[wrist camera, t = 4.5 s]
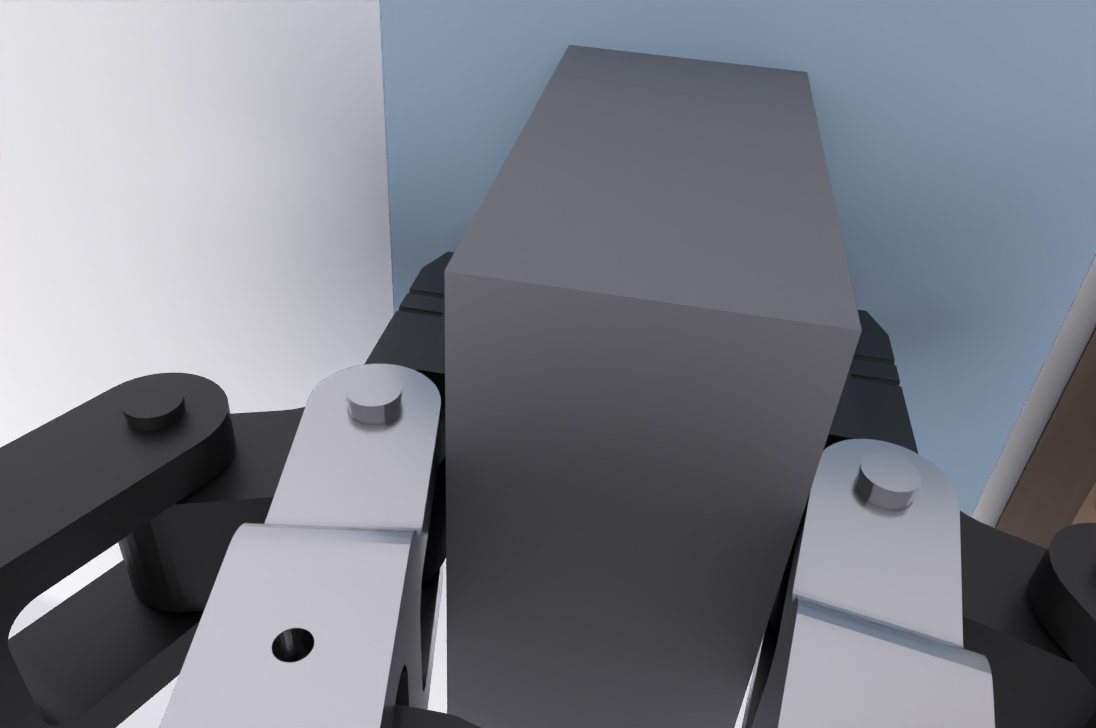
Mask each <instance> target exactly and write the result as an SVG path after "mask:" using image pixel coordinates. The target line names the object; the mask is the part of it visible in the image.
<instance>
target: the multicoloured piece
mask: <svg viewBox="0 0 1096 728" xmlns="http://www.w3.org/2000/svg"><path fill="white" fill-rule="evenodd" d="M380 20H381V42H382V64H383V85H384V107H385V129H386V151H387V172H388V194H389V216H390V237H391V259H392V281H393V302H394V314H395V312H396V311H399V306H400V304H401V302H402V301H403V299H404V297H405V296H406V294H407V293H409V289H410V287H411V286H412V284H413V282H414V281H415V279H416V277H417V276H418V274H419V272H420V270H421V269H422V267H424V266H426V265H427V264H429V263H430V262H432V261H434V260H435V259H437V258H438V257H440V256H442V255H443V254H445V253H446V252H448V251H449V252H455V253H454V254H453V256H452V258H451V260H450V262H449V263H448V265H447V267H446V269H445V271H444V279H445V428H446V576H447V714H451V715H456V716H458V717H460V718H462V719H464V720H466V721H468V722H470V723H472V724H475V725H477V726H479V727H481V728H734V726H735V723H736V720H737V717H738V714H739V711H740V708H741V705H742V701H743V698H744V695H745V692H746V689H747V686H748V683H749V680H750V677H751V673H752V670H753V667H754V664H755V661H756V658H757V655H758V652H759V649H760V645H761V642H762V639H763V636H764V633H765V630H766V627H767V624H768V621H769V617H770V614H771V611H772V608H773V605H774V602H775V599H776V596H777V593H778V589H779V586H780V583H781V580H782V577H783V574H784V571H785V568H786V565H787V561H788V558H789V555H790V552H791V549H792V546H793V543H794V540H795V537H796V533H797V530H798V527H799V524H800V521H801V518H802V515H803V512H804V509H805V505H806V502H807V499H808V496H809V493H810V490H811V487H812V484H813V481H814V477H815V474H816V471H817V468H818V465H819V462H820V459H821V456H822V453H823V449H824V446H825V443H826V440H827V437H828V434H829V431H830V428H831V425H832V421H833V418H834V415H835V412H836V409H837V406H838V403H839V400H840V397H841V393H842V390H843V387H844V384H845V381H846V378H847V375H848V372H849V369H850V365H851V362H852V359H853V356H854V353H855V350H856V347H857V344H858V341H859V337H860V334H861V331H862V329H861V325H860V320H859V315H858V310H865V311H867V312H868V313H869V314H870V315H871V316H872V317H873V319H874V320H875V321H876V322H877V323H878V324H879V325H880V326H881V327H882V328H883V330H884V331H885V332H886V333H887V334H888V335H889V339H890V343H891V347H892V351H893V355H894V359H895V362H894V365H896V367H897V371H898V375H899V379H900V384H899V386H900V387H902V390H903V394H904V398H905V402H906V406H907V410H908V414H909V418H910V422H911V426H912V430H913V434H914V438H915V442H916V446H917V450H918V454H919V455H921V456H923V457H924V458H926V459H927V460H929V461H930V462H932V463H933V464H934V465H935V466H937V467H938V468H939V469H940V470H941V471H942V472H943V473H944V474H945V475H946V476H947V477H948V478H949V480H950V481H951V483H952V484H953V486H954V487H955V490H956V492H957V494H958V498H959V504H960V511H962V512H963V513H965V514H966V515H968V516H970V517H971V515H972V513H973V511H974V509H975V507H976V505H977V503H978V501H979V499H980V496H981V494H982V492H983V490H984V488H985V486H986V484H987V482H988V480H989V478H990V475H991V473H992V471H993V469H994V467H995V465H996V463H997V461H998V459H999V457H1000V455H1001V452H1002V450H1003V448H1004V446H1005V444H1006V442H1007V440H1008V438H1009V436H1010V434H1011V431H1012V429H1013V427H1014V425H1015V423H1016V421H1017V419H1018V417H1019V415H1020V413H1021V411H1022V408H1023V406H1024V404H1025V402H1026V400H1027V398H1028V396H1029V394H1030V392H1031V390H1032V387H1033V385H1034V383H1035V381H1036V379H1037V377H1038V375H1039V373H1040V371H1041V369H1042V367H1043V364H1044V362H1045V360H1046V358H1047V356H1048V354H1049V352H1050V350H1051V348H1052V346H1053V343H1054V341H1055V339H1056V337H1057V335H1058V333H1059V331H1060V329H1061V327H1062V325H1063V323H1064V320H1065V318H1066V316H1067V314H1068V312H1069V310H1070V308H1071V306H1072V304H1073V302H1074V299H1075V297H1076V295H1077V293H1078V291H1079V289H1080V287H1081V285H1082V283H1083V281H1084V279H1085V276H1086V274H1087V272H1088V270H1089V268H1090V266H1091V264H1092V262H1093V260H1094V258H1095V255H1096V0H380Z"/></svg>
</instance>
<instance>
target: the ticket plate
mask: <svg viewBox="0 0 1096 728" xmlns="http://www.w3.org/2000/svg"><path fill="white" fill-rule="evenodd" d="M1078 523H1096V330H1095V332H1094V334H1093V336H1092V338H1091V340H1090V342H1089V344H1088V346H1087V348H1086V349H1085V351H1084V353H1083V355H1082V357H1081V359H1080V361H1079V363H1078V365H1077V367H1076V369H1075V371H1074V373H1073V375H1072V377H1071V379H1070V381H1069V383H1068V385H1067V387H1066V389H1065V391H1064V393H1063V395H1062V397H1061V399H1060V401H1059V403H1058V405H1057V407H1056V409H1055V411H1054V413H1053V415H1052V417H1051V419H1050V421H1049V423H1048V425H1047V427H1046V429H1045V431H1044V433H1043V435H1042V437H1041V439H1040V441H1039V443H1038V445H1037V446H1036V448H1035V450H1034V452H1033V454H1032V456H1031V458H1030V460H1029V462H1028V464H1027V466H1026V468H1025V470H1024V472H1023V474H1022V476H1021V478H1020V480H1019V482H1018V484H1017V486H1016V488H1015V490H1014V492H1013V494H1012V496H1011V498H1010V500H1009V502H1008V504H1007V506H1006V508H1005V510H1004V512H1003V514H1002V516H1001V518H1000V520H999V522H998V524H997V526H996V528H995V529H997V530H1000V531H1002V532H1005V533H1008V534H1010V535H1013V536H1015V537H1018V538H1021V539H1023V540H1026V541H1028V542H1031V543H1034V544H1036V545H1039V546H1041V547H1044V548H1048V546H1049V544H1050V543H1051V541H1052V539H1053V537H1054V535H1055V534H1057V533H1058V532H1059V531H1060V530H1061V529H1063V528H1065V527H1067V526H1070V525H1074V524H1078Z"/></svg>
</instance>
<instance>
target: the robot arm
mask: <svg viewBox="0 0 1096 728" xmlns="http://www.w3.org/2000/svg"><path fill="white" fill-rule="evenodd" d="M454 253H455V252H449V251H448V252H446V253H445V254H443V255H442V256H440V257H438V258H437V259H435V260H434V261H432V262H430V263H429V264H427V265H426V266H424V267H422V269H421V270H420V272H419V274H418V276H417V277H416V279H415V281H414V282H413V284H412V286H411V287H410V289H409V293H407V294H406V296H405V297H404V299H403V301H402V302H401V304H400V306H399V311H396V312H395V314H394V316H393V317H392V319H391V321H390V322H389V324H388V326H387V327H386V329H385V331H384V332H383V334H382V336H381V338H380V339H379V341H378V343H377V344H376V346H375V348H374V349H373V351H372V353H371V354H370V356H369V358H368V359H367V361H366V363H365V364H364V365H359V366H354V367H350V368H347V369H344V370H341V371H339V372H337V373H334V374H332V375H331V376H329V377H327V378H326V379H324V380H323V381H322V382H321V383H319V384H318V385H317V386H316V387H315V389H314V390H313V391H312V392H311V394H310V396H309V398H308V401H307V404H306V407H303V408H298V409H293V410H283V411H269V412H252V413H235V414H230V410H229V405H228V399H227V396H226V394H225V392H224V391H223V390H222V389H221V387H220V386H219V385H217V384H216V383H214V382H213V381H211V380H209V379H206V378H204V377H201V376H197V375H193V374H186V373H160V374H153V375H147V376H143V377H139V378H135V379H133V380H130V381H127V382H124V383H122V384H120V385H118V386H116V387H113V388H112V389H110V390H108V391H106V392H104V393H102V394H100V395H98V396H97V397H95V398H93V399H91V400H89V401H87V402H85V403H83V404H82V405H80V406H78V407H76V408H74V409H72V410H70V411H68V412H67V413H65V414H63V415H61V416H59V417H57V418H55V419H53V420H52V421H50V422H48V423H46V424H44V425H42V426H40V427H38V428H37V429H35V430H33V431H31V432H29V433H27V434H25V435H24V436H22V437H20V438H18V439H16V440H14V441H12V442H10V443H9V444H7V445H5V446H3V447H1V448H0V728H116V727H117V726H118V725H119V724H120V723H122V722H123V721H124V720H125V719H126V718H128V717H129V716H130V715H131V714H132V713H134V712H135V711H136V710H137V709H138V708H140V707H141V706H142V705H143V704H144V703H145V702H147V701H148V700H149V699H150V698H152V697H153V696H154V695H155V694H156V693H158V692H159V691H160V690H161V689H162V688H164V687H165V686H166V685H167V684H168V683H170V682H171V681H172V680H173V679H174V678H176V677H177V676H178V675H179V674H180V675H179V678H178V680H177V683H176V685H175V688H174V690H173V693H172V695H171V698H170V701H169V703H168V706H167V708H166V711H165V714H164V716H163V719H162V721H161V725H160V727H159V728H481V727H479V726H477V725H475V724H472V723H470V722H468V721H466V720H464V719H462V718H460V717H458V716H456V715H451V714H446V713H441V712H436V711H430V710H427V708H428V700H429V691H430V683H431V674H432V666H433V658H434V649H435V641H436V632H437V624H438V616H439V607H440V599H441V590H442V582H443V562H444V560H445V558H446V428H445V279H444V271H445V269H446V267H447V265H448V263H449V262H450V260H451V258H452V256H453V254H454ZM858 315H859V320H860V325H861V329H862V331H861V334H860V337H859V341H858V344H857V347H856V350H855V353H854V356H853V359H852V362H851V365H850V369H849V372H848V375H847V378H846V381H845V384H844V387H843V390H842V393H841V397H840V400H839V403H838V406H837V409H836V412H835V415H834V418H833V421H832V425H831V428H830V431H829V434H828V437H827V440H826V443H825V446H824V449H823V453H822V456H821V459H820V462H819V465H818V468H817V471H816V474H815V477H814V481H813V484H812V487H811V490H810V493H809V496H808V499H807V502H806V505H805V509H804V512H803V515H802V518H801V521H800V524H799V527H798V530H797V533H796V537H795V540H794V543H793V546H792V549H791V552H790V555H789V558H788V561H787V565H786V568H785V571H784V574H783V577H782V580H781V583H780V586H779V589H778V593H777V596H776V599H775V602H774V605H773V608H772V611H771V614H770V617H769V621H768V624H767V627H766V630H765V633H764V636H763V639H762V642H761V645H760V649H759V652H758V655H757V658H756V661H755V665H754V670H753V675H752V679H751V684H750V689H749V694H748V699H747V704H746V709H745V714H744V719H743V723H742V728H1096V523H1078V524H1074V525H1070V526H1067V527H1065V528H1063V529H1061V530H1060V531H1059V532H1058V533H1057V534H1055V535H1054V537H1053V539H1052V541H1051V543H1050V544H1049V546H1048V548H1044V547H1041V546H1039V545H1036V544H1034V543H1031V542H1028V541H1026V540H1023V539H1021V538H1018V537H1015V536H1013V535H1010V534H1008V533H1005V532H1002V531H1000V530H997V529H995V528H992V527H990V526H988V525H985V524H983V523H981V522H979V521H977V520H975V519H973V518H972V517H970V516H968V515H966V514H965V513H963V512H962V511H960V504H959V498H958V494H957V492H956V490H955V487H954V486H953V484H952V483H951V481H950V480H949V478H948V477H947V476H946V475H945V474H944V473H943V472H942V471H941V470H940V469H939V468H938V467H937V466H935V465H934V464H933V463H932V462H930V461H929V460H927V459H926V458H924V457H923V456H921V455H919V454H918V450H917V446H916V442H915V438H914V434H913V430H912V426H911V422H910V418H909V414H908V410H907V406H906V402H905V398H904V394H903V390H902V387H900V386H899V384H900V379H899V375H898V371H897V367H896V365H894V362H895V359H894V355H893V351H892V347H891V343H890V339H889V335H888V334H887V333H886V332H885V331H884V330H883V328H882V327H881V326H880V325H879V324H878V323H877V322H876V321H875V320H874V319H873V317H872V316H871V315H870V314H869V313H868V312H867V311H865V310H858ZM117 542H118V543H119V546H120V550H121V553H122V556H123V559H124V560H123V561H121V562H120V563H118V564H117V565H116V566H114V567H113V568H111V569H110V570H108V571H107V572H105V573H104V574H103V575H101V576H100V577H98V578H97V579H95V580H94V581H92V582H91V583H90V584H88V585H87V586H85V587H84V588H82V589H81V590H79V591H78V592H77V593H75V594H74V595H72V596H71V597H69V598H68V599H66V600H65V601H64V602H62V603H61V604H59V605H58V606H56V607H55V608H53V609H52V610H50V611H49V612H48V613H46V614H45V615H43V616H42V617H40V618H39V619H38V620H36V621H35V622H33V623H32V624H31V625H29V626H27V627H26V628H24V629H23V630H22V631H20V632H19V633H17V634H16V635H15V636H13V637H11V638H10V639H9V640H8V636H9V632H10V629H11V626H12V625H13V623H14V621H15V619H16V618H17V616H18V615H19V613H20V612H21V611H22V610H23V609H24V607H25V606H26V605H28V604H29V603H30V602H31V601H32V600H33V599H35V598H36V597H37V596H39V595H40V594H42V593H43V592H45V591H46V590H48V589H49V588H50V587H52V586H53V585H55V584H56V583H58V582H59V581H61V580H62V579H64V578H65V577H67V576H68V575H70V574H71V573H73V572H74V571H76V570H77V569H79V568H80V567H82V566H83V565H85V564H86V563H88V562H89V561H91V560H92V559H94V558H95V557H97V556H98V555H100V554H101V553H103V552H104V551H106V550H107V549H108V548H110V547H111V546H113V545H114V544H116V543H117Z"/></svg>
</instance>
